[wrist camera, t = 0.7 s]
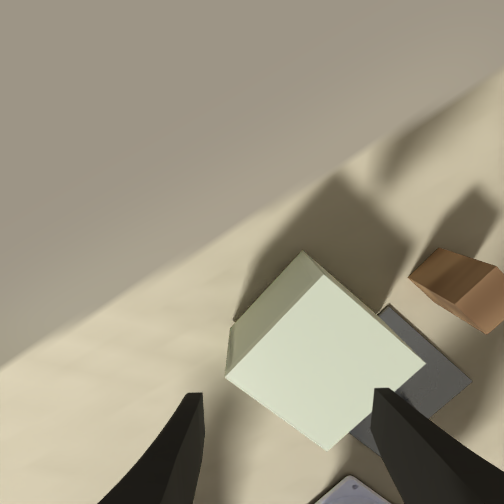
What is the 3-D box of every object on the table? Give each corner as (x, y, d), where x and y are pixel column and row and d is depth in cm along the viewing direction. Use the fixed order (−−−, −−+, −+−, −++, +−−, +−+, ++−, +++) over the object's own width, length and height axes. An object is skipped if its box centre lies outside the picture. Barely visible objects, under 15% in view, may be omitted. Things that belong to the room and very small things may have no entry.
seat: (470, 379, 23) (506, 410, 20) (381, 455, 24) (400, 495, 21) (387, 305, 21) (412, 326, 18) (297, 392, 23) (305, 425, 20)
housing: (380, 317, 21) (425, 363, 16) (307, 387, 22) (327, 451, 17) (302, 249, 20) (323, 274, 14) (230, 328, 21) (224, 377, 16)
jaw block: (464, 273, 21) (528, 298, 16) (433, 301, 21) (486, 334, 17) (438, 247, 20) (496, 266, 16) (407, 277, 21) (454, 304, 16)
